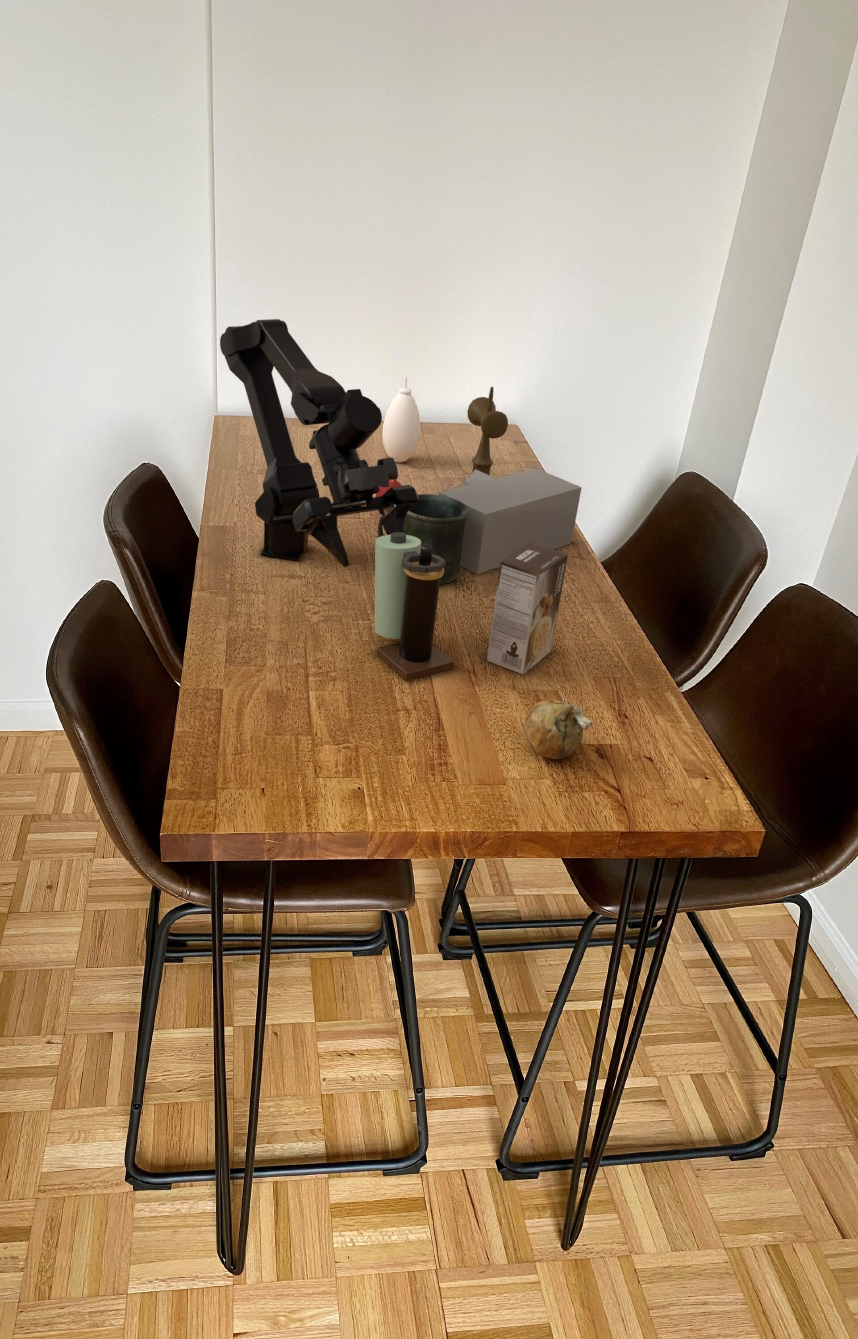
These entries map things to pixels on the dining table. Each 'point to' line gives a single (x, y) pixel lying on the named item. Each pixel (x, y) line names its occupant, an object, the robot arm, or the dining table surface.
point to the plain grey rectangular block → (514, 515)
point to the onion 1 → (392, 484)
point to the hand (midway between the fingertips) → (374, 561)
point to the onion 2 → (555, 728)
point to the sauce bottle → (401, 426)
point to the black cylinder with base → (418, 626)
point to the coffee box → (526, 607)
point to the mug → (438, 529)
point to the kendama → (486, 429)
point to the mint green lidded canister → (396, 579)
